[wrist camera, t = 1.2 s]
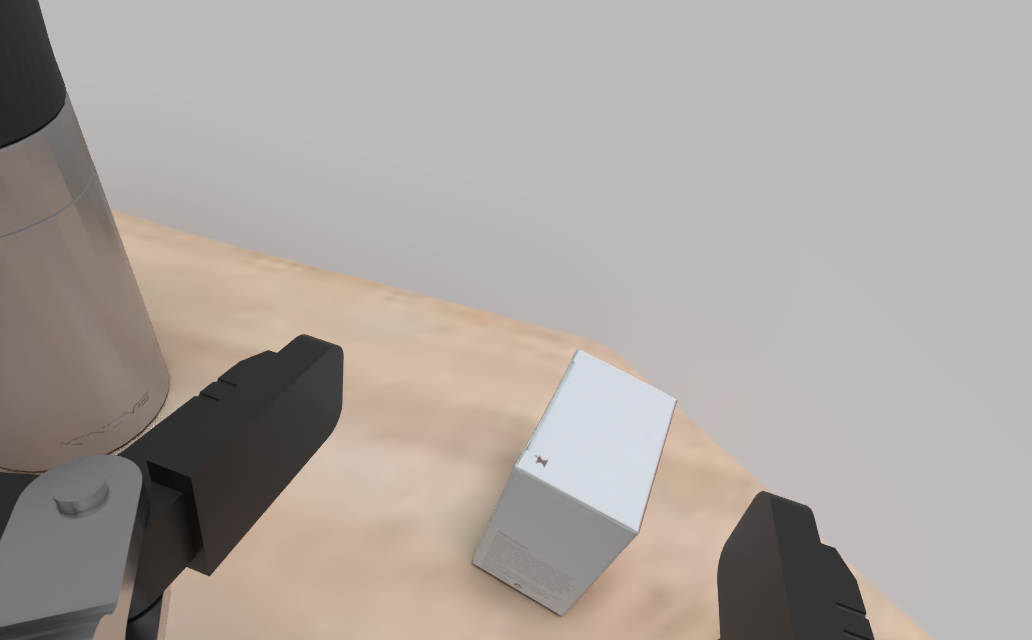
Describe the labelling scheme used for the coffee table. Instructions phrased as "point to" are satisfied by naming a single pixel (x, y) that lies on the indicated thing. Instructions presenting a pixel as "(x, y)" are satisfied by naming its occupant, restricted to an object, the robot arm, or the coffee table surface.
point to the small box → (578, 484)
